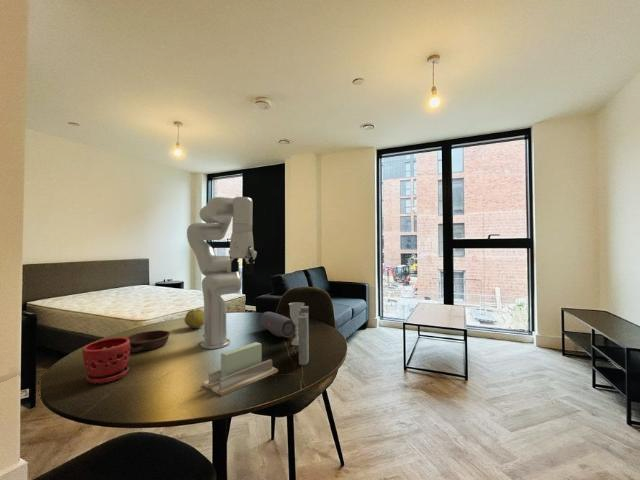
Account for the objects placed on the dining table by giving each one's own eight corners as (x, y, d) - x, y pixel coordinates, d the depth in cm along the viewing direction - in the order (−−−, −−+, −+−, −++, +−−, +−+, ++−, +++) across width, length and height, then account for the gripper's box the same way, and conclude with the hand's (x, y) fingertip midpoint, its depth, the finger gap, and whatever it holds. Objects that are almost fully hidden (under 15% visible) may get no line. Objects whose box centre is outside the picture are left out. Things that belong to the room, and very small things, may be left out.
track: (202, 385, 96) (202, 372, 96) (258, 364, 112) (258, 353, 113) (221, 396, 89) (221, 382, 89) (278, 371, 105) (277, 360, 105)
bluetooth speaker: (258, 331, 157) (258, 311, 157) (274, 328, 162) (274, 309, 163) (279, 342, 139) (279, 320, 139) (297, 338, 144) (296, 317, 144)
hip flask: (299, 350, 127) (298, 302, 127) (308, 350, 127) (308, 302, 128) (298, 365, 111) (298, 311, 112) (309, 364, 111) (309, 310, 112)
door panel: (221, 381, 96) (220, 352, 96) (256, 367, 107) (256, 342, 107) (226, 383, 94) (226, 355, 94) (261, 369, 105) (261, 343, 105)
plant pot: (102, 370, 109) (102, 336, 109) (138, 370, 108) (138, 336, 108) (71, 387, 96) (72, 349, 96) (112, 387, 95) (112, 349, 95)
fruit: (179, 330, 159) (179, 311, 159) (192, 325, 171) (192, 307, 171) (198, 331, 157) (198, 312, 157) (210, 325, 169) (210, 307, 169)
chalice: (306, 341, 139) (305, 302, 139) (303, 346, 132) (303, 305, 132) (290, 341, 140) (290, 302, 140) (287, 345, 133) (287, 305, 133)
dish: (111, 355, 124) (111, 343, 125) (146, 338, 146) (146, 328, 147) (151, 355, 123) (151, 343, 123) (180, 339, 145) (180, 328, 145)
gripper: (221, 229, 120) (221, 271, 120) (247, 228, 108) (246, 275, 108) (238, 229, 125) (237, 270, 125) (264, 229, 114) (263, 274, 114)
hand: (241, 273), depth 117 cm, fingers open, 9 cm apart
